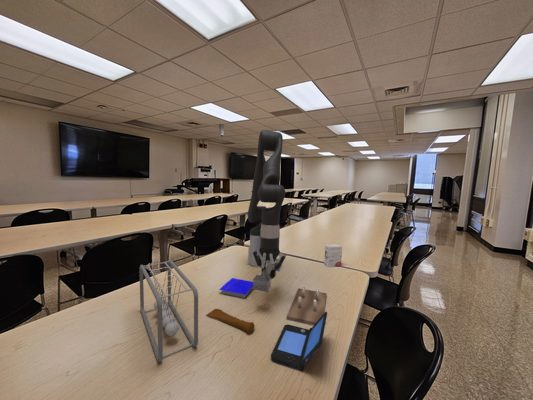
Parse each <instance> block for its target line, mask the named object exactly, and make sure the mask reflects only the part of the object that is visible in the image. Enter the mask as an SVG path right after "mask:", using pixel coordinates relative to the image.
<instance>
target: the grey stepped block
mask: <svg viewBox="0 0 533 400" xmlns="http://www.w3.org/2000/svg"><path fill="white" fill-rule="evenodd" d="M279 261H280V259H279V258H278V257H277V258H276V265H278V263H279ZM282 266H283V264H282V265H281V267H280V268H279V269H276V272H278V273H279V272H281V269H282ZM271 270H272V265H271V261H269V260H267V262H266V268H265V269H264V270H263V272H262V273H260V275H259V274H256V275H255V276H254V277H253V279H252V282H253V288H252V290H253V291H254V290H255V291H259V292H264V293H269V292H270V289H271V287H272V285H271V283H272V279H271Z"/></svg>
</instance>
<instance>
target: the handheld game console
mask: <svg viewBox="0 0 533 400" xmlns="http://www.w3.org/2000/svg"><path fill="white" fill-rule="evenodd" d="M327 317H328V312H327V311H324V314H323V315H322V316H321V317H320V319H319V320H318V321H317V322H316V323H315V325H312V327H310V328H304V327H301V326H297V325H291V324H285V325H283V327H282V330H281V332H280V334H279V337H278V338H277V341H276V343H275V345H274V347H273V348H272V351H271V354H270V360H271V361H272V362H273V363H276V364H280V365H283V366H285V367H288V368H292V369H295V370H299V371H300V372H304V370H305V367H306V366H305V365H306V363H308V361H310V359H311V358H312V357H313V356H314V355H315V354H316V352H317V351H318V350H319V349H320V348H321V345H322V344H323V340H324V339H323V338H324V334H325V327H326V324H327Z"/></svg>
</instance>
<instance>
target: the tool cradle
mask: <svg viewBox="0 0 533 400" xmlns="http://www.w3.org/2000/svg"><path fill="white" fill-rule="evenodd" d="M326 302H327V293H326V292H321V291H320V290H319V289H316V290H312V289H311V290H310V289H306V288H305V287H304V286H303V287H301V288H297V291H296V293H295V296H294V298H293V301H292V303H291V305H290V308H289V310H288V312H287V314H286V320H288V321H293V322H297V323H301V324H306V325H309V326H310V325H311V326H314V325H315V323H316V322H317V321H318V320H319V319H320V317H321V316H322V315H323V314H324V313H325V306H326Z"/></svg>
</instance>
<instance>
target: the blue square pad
mask: <svg viewBox="0 0 533 400" xmlns="http://www.w3.org/2000/svg"><path fill="white" fill-rule="evenodd" d="M218 290H219V291H221V294H223V295H228V296H232V297H236V298H242V299H245V298H246V297H247V295H249V293H250V292H251V291H252V290H253V281H250V280H244V279H241V278H234V277H231V278H230V279H229V280H228V281H227V282H225V284H224V285H223V286H221V287H220V288H219V289H218Z"/></svg>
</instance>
